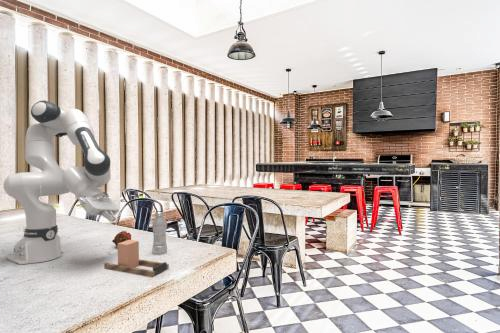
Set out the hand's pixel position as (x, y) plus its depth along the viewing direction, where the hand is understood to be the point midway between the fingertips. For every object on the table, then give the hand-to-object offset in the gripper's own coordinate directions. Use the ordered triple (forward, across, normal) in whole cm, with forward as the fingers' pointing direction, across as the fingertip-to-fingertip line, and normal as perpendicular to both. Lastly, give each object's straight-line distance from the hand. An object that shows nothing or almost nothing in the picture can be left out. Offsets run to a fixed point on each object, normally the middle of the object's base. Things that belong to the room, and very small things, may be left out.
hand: (113, 220), depth 123 cm
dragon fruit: (+2, +30, +16) cm, 35 cm away
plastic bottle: (+22, +17, +2) cm, 28 cm away
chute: (+22, -3, +6) cm, 23 cm away
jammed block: (+19, -2, +7) cm, 20 cm away
